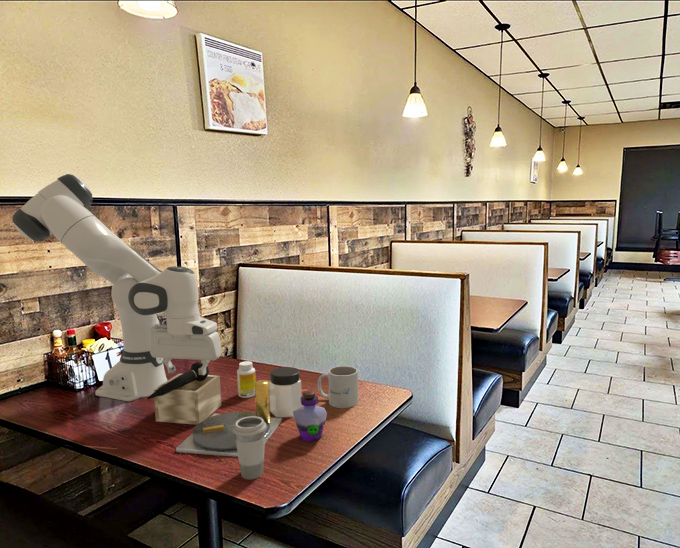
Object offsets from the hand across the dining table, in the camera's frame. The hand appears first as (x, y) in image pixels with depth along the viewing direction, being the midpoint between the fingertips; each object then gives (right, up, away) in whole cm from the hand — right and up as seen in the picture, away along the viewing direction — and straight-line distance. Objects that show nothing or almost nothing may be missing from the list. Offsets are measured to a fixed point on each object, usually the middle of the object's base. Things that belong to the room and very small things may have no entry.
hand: (187, 373), depth 135 cm
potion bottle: (+35, -13, -15) cm, 41 cm away
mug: (+42, -10, +7) cm, 44 cm away
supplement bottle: (+14, -10, +14) cm, 22 cm away
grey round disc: (+16, -12, -13) cm, 24 cm away
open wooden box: (0, -12, +2) cm, 12 cm away
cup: (+24, -16, -31) cm, 42 cm away
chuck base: (+16, -13, -13) cm, 24 cm away
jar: (+28, -11, +1) cm, 30 cm away
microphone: (-7, -4, -11) cm, 14 cm away
